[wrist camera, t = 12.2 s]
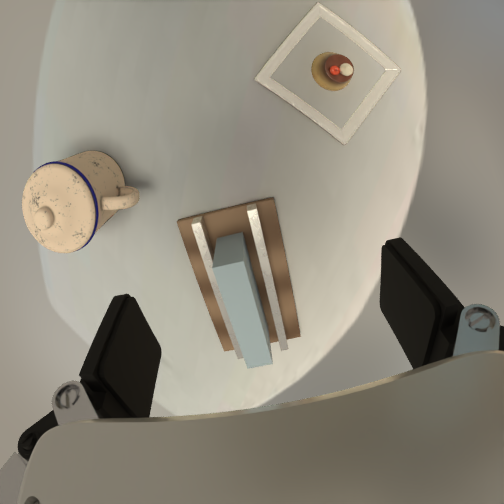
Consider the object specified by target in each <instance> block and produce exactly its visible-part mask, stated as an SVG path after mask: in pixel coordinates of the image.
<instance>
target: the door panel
mask: <svg viewBox="0 0 504 504" xmlns="http://www.w3.org/2000/svg"><path fill="white" fill-rule="evenodd" d="M212 269H213V272H214V275H215V278H216V281H217V284H218V287H219V290H220V293H221V296H222V298H223V301H224V304H225V307H226V310H227V313H228V316H229V318H230V321H231V324H232V327H233V330H234V332H235V335H236V338H237V341H238V344H239V346H240V349H241V352H242V354H243V357H244V360H245V362H246V365H247V368H254V367H259V366H264V365H270V364H273V362H272V354H271V346H270V338H269V330H268V324H267V321H266V317H265V313H264V310H263V306H262V302H261V298H260V295H259V291H258V287H257V283H256V280H255V276H254V272H253V268H252V265H251V261H250V257H249V254H248V250H247V246H246V242H245V239H244V235H243V232H241V233H236V234H232V235H228V236H224V237H219V238H217V241H216V247H215V253H214V259H213V266H212Z"/></svg>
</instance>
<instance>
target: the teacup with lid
mask: <svg viewBox="0 0 504 504" xmlns="http://www.w3.org/2000/svg"><path fill="white" fill-rule="evenodd" d="M138 201H139V191H138V190H137V189H136V188H134V187H130V186H125V182H124V177H123V174H122V172H121V169H120V168H119V166H118V165H117V163H116V162H115V161H114V160H113V159H112V158H111V157H109V156H108V155H106V154H104V153H102V152H99V151H86V152H82V153H80V154H77V155H74V156H71V157H68V158H66V159H63V160H60V161H56V162H49V163H46V164H44V165H42V166H40V167H39V168H37V169H36V170H35V171H34V172H33V174H32V175H31V176H30V178H29V179H28V181H27V183H26V186H25V188H24V192H23V199H22V208H23V214H24V218H25V222H26V224H27V226H28V228H29V230H30V232H31V234H32V235H33V236H34V238H35V239H36V240H37V241H38V242H39V243H40V244H42V245H43V246H44V247H46V248H47V249H49V250H52V251H54V252H59V253H70V252H74V251H77V250H80V249H81V248H83V247H84V246H86V245H87V244H88V243H89V242H90V240H91V239H92V237H93V236H94V234H95V232H96V231H97V230H98V229H99V228H100V227H102V226H103V225H104V224H105V223H106V222H107V221H108V220H109V219H110V218H111V217H112V216H113V215H114V214H115V213H116V212H117V211H118V210H120V209H126V208H130V207H132V206H134V205H136V204H137V203H138Z"/></svg>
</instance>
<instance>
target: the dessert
mask: <svg viewBox="0 0 504 504" xmlns="http://www.w3.org/2000/svg"><path fill="white" fill-rule="evenodd" d="M319 17H322V18H323V19H324V20H326V21H327V22H329V23H330V24H331V25H333V26H334V27H335V28H337V29H338V30H339V31H341V32H342V33H343V34H345V35H346V36H347V37H348V38H350V39H351V40H352V41H353V42H355V43H356V44H357V45H358V46H359V47H361V48H362V49H363V50H364V51H365V52H367V53H368V54H369V55H370V56H371V57H372V58H374V59H375V60H376V61H377V62H378V63H379V64H380V65H381V66H382V67H383V68H385V72H384V73H383V75H382V76H381V77H380V79H379V80H378V81H377V83H376V84H375V85H374V87H373V88H372V89H371V91H370V92H369V93H368V95H367V96H366V97H365V99H364V100H363V101H362V103H361V104H360V105H359V107H358V108H357V109H356V111H355V112H354V113H353V115H352V116H351V117H350V119H349V120H348V121H347V123H346V124H345V125H344V127H343V128H342V129H340V128H339V127H337V126H336V125H335V124H334V123H332V122H331V121H330V120H329V119H327V118H326V117H325V116H323V115H322V114H321V113H319V112H318V111H317V110H315V109H314V108H313V107H311V106H310V105H309V104H307V103H306V102H305V101H303V100H302V99H301V98H299V97H298V96H296V95H295V94H293V93H292V92H291V91H289V90H288V89H286V88H285V87H283V86H282V85H280V84H279V83H277V82H276V81H274V80H273V79H271V75H272V74H273V73H274V71H275V70H276V69H277V68H278V66H279V65H280V64H281V63H282V61H283V60H284V59H285V58H286V56H287V55H288V54H289V53H290V51H291V50H292V49H293V48H294V46H295V45H296V44H297V43H298V42H299V40H300V39H301V38H302V37H303V36H304V35H305V33H306V32H307V31H308V30H309V29H310V27H311V26H312V25H313V24H314V23H315V22H316V21H317V19H318V18H319ZM353 71H354V69H353V65H352V63H351V61H350V60H349V59H348V58H347V57H345V56H343V55H340V54H337V53H333V52H326V53H322V54H320V55H318V56H317V57H316V58H315V59H314V61H313V63H312V75H313V78H314V80H315V81H316V82H317V83H318V84H319V85H320V86H321V87H323V88H324V89H327V90H331V91H337V90H341V89H343V88H344V87H346V86H347V85H348V83H349V82H350V80H351V78H352V75H353ZM400 72H401V69H400V68H399V67H398V66H397V65H396V64H395V63H394V62H393V61H392V60H391V59H390V58H389V57H388V56H387V55H385V54H384V53H383V52H382V51H381V50H380V49H379V48H378V47H376V46H375V45H374V44H373V43H372V42H371V41H369V40H368V39H367V38H366V37H365V36H363V35H362V34H361V33H360V32H358V31H357V30H356V29H355V28H353V27H352V26H351V25H349V24H348V23H347V22H346V21H344V20H343V19H342V18H340V17H339V16H337V15H336V14H335V13H333V12H332V11H331V10H329V9H328V8H326V7H325V6H323V5H322V4H320V3H316V4H315V5H314V7H313V8H312V9H311V10H310V11H309V12H308V13H307V14H306V16H305V17H304V18H303V19H302V20H301V21H300V22H299V24H298V25H297V26H296V27H295V28H294V29H293V31H292V32H291V33H290V34H289V35H288V37H287V38H286V39H285V40H284V41H283V43H282V44H281V45H280V46H279V48H278V49H277V50H276V51H275V53H274V54H273V55H272V56H271V58H270V59H269V60H268V61H267V63H266V64H265V65H264V66H263V68H262V69H261V70H260V72H259V73H258V74H257V76H256V77H255V78H254V80H255V81H257V82H258V83H260V84H261V85H263V86H264V87H266V88H267V89H269V90H270V91H272V92H273V93H275V94H276V95H278V96H279V97H281V98H282V99H284V100H285V101H286V102H288V103H289V104H291V105H292V106H294V107H295V108H296V109H298V110H299V111H300V112H302V113H303V114H305V115H306V116H307V117H309V118H310V119H311V120H313V121H314V122H315V123H317V124H318V125H319V126H320V127H322V128H323V129H324V130H326V131H327V132H328V133H329V134H331V135H332V136H333V137H334V138H336V139H337V140H338V141H339V142H341V143H342V144H343V145H346V144H347V142H348V141H349V140H350V138H351V137H352V136H353V134H354V133H355V132H356V130H357V129H358V128H359V126H360V125H361V124H362V122H363V121H364V120H365V118H366V117H367V116H368V114H369V113H370V112H371V110H372V109H373V108H374V106H375V105H376V104H377V102H378V101H379V100H380V98H381V97H382V96H383V94H384V93H385V92H386V90H387V89H388V88H389V86H390V85H391V84H392V82H393V81H394V80H395V78H396V77H397V76H398V74H399V73H400Z"/></svg>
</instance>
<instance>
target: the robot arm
mask: <svg viewBox="0 0 504 504" xmlns="http://www.w3.org/2000/svg"><path fill="white" fill-rule="evenodd" d="M380 308H381V311H382V313H383V314H384V316H385V318H386V320H387V321H388V323H389V325H390V327H391V328H392V330H393V332H394V334H395V335H396V337H397V339H398V341H399V343H400V345H401V346H402V348H403V350H404V352H405V354H406V356H407V358H408V360H409V362H410V363H411V365H412V367H413V370H410V371H407V372H404V373H401V374H398V375H394V376H391V377H388V378H384V379H381V380H378V381H374V382H371V383H368V384H364V385H360V386H357V387H354V388H349V389H345V390H341V391H337V392H334V393H329V394H325V395H321V396H317V397H312V398H307V399H302V400H297V401H292V402H287V403H282V404H276V405H271V406H264V407H258V408H251V409H244V410H236V411H228V412H220V413H210V414H200V415H187V416H172V417H149V415H150V410H151V404H152V399H153V394H154V389H155V383H156V378H157V373H158V368H159V364H160V359H161V347H160V345H159V343H158V341H157V339H156V337H155V336H154V334H153V332H152V330H151V328H150V326H149V324H148V323H147V321H146V319H145V317H144V315H143V313H142V311H141V309H140V307H139V305H138V303H137V301H136V299H135V298H134V297H131V296H130V295H129V294H124V295H118V296H114V297H113V299H112V301H111V303H110V305H109V307H108V309H107V312H106V314H105V316H104V318H103V320H102V322H101V325H100V327H99V329H98V331H97V333H96V336H95V338H94V340H93V342H92V345H91V347H90V349H89V352H88V354H87V356H86V359H85V361H84V364H83V366H82V369H81V371H80V374H79V376H80V377H81V381H80V382H77V381H69V382H66V383H64V384H62V385H61V386H60V387H59V388H58V389H57V390H56V391H55V393H54V395H53V398H52V407H53V411H51V412H50V413H49V414H47V415H46V416H44V417H43V418H42V419H40V420H39V421H38V422H36V423H35V424H34V425H32V426H31V427H30V428H28V429H27V430H26V431H25V432H24V433H23V434H22V435H21V437H20V439H19V441H18V452H19V453H18V454H17V453H16V452H14V453H13V455H12V456H11V457H10V458H9V460H8V461H7V462H6V463H5V465H4V466H3V467H2V468H1V470H0V504H504V326H500V321H499V318H498V315H497V313H496V312H495V311H494V310H493V309H491V308H490V307H488V306H485V305H482V304H472V305H469V306H467V307H464V306H463V305H462V304H461V303H460V301H459V300H458V299H457V298H456V296H455V295H454V294H453V293H452V292H451V291H450V289H449V288H448V287H447V286H446V285H445V284H444V283H443V281H442V280H441V279H440V278H439V277H438V276H437V275H436V274H435V273H434V271H433V270H432V269H431V268H430V267H429V266H428V265H427V264H426V263H425V262H424V261H423V259H421V257H420V256H419V255H418V254H417V253H416V252H415V251H414V250H413V249H412V248H411V247H410V246H409V245H408V244H407V243H406V242H405V241H404V240H403V239H402V238H395V239H391V240H387V241H386V243H385V245H383V246H382V253H381V286H380Z"/></svg>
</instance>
